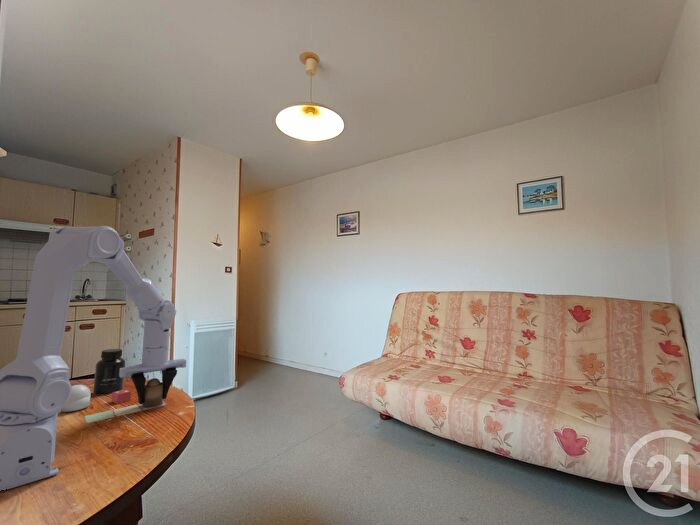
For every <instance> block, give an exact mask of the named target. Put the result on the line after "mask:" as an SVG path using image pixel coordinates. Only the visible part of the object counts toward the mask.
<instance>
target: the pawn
mask: <svg viewBox="0 0 700 525" xmlns="http://www.w3.org/2000/svg"><path fill="white" fill-rule="evenodd" d="M162 401H163V402H164V399H163V383H162V382H161V381H160V379H159V378H157V377H153V378H151V379H149V380H148V381H147V382H146V383H145V388H144V404H142V407H144V408H151V409H153V408H152V407H155V408H157V407H156V406H159V405H161V404H162ZM159 407H160V406H159Z"/></svg>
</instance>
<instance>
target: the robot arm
mask: <svg viewBox="0 0 700 525" xmlns="http://www.w3.org/2000/svg"><path fill="white" fill-rule="evenodd" d="M124 248H125V241H124V239H122V238H121V237H120V234H119V233H118V232H117V230H115V229H114V228H113V227H112V226H108V225H100V226H70V225H69V226H63V227H60V228H58V229H55V230H52V231H50V232H49V235H48V241H47V242H46V243H45V244H44V246H42V248H41V249H40V250H39V251H38V253H37V254H36V256H35V258H34V263H33V268H32V274H31V278H30V279H31V280H30V284H29V289H28V293H27V294H28V296H27V300H26V304H25V310H24V316H23V321H22V326H21V332H20V336H19V343H18V348H17V353H16V358H15V359H14V360H13V361H11V362H10V363H8V364H6V365H5V366H3V367H1V369H0V491H1V490H4V491H6V489H7V490H10V489H13V488H16V487H20V486H23V485H26V484H30V483H33V482H37V481H39V480H42V479H46V478H49V477H53V476H56V475H57V474H59V472H60V471H59V466H58V467H54V468H52V463H53V462H54V461H55V453H56V452H55V451H56V439H57V438H56V437H57V428H58V417H59V416H58V415H59V414H60V413H61V412H62V411H61V409H62V408H63V407H64V406H65V404H66V403H67V402H68V400H69V398H70V395H71V391H72V387H71V386H72V384H71V381H70V378H69V377H70V376H69V375H70V371H71V370H70V367H69V366H68V365H67V363H66V362H65V361H64V359H63V358H62V356H61V355H62V349H63V348H62V347H63V344H64V343H63V342H64V338H65V337H64V336H65V331H66V327H67V319H68V313H69V307H70V300H71V295H72V289H73V284H74V279H75V272H76V271H77V270H78V269H81V268H82V267H84V266H85V265H86V266H87V265H88V264H91V262H95V263H100V264H103V265H104V266H106V267H107V268H108V269H109V270H110V271H111V272H112V273H113V274H114V275H115V276H116V277H117V278H118V280H120V281H121V282H122V283H123V284H124V285H125V286H126V289H125V295H126V296H127V297H128V298H129V299H130V301H131V302H132V303H133V304H134V305H135V306H136V308H137V310H138V317H139V319H140V320H142V321H143V322H144V324H143V325H144V326H143V327H144V328H143V338H142V339H143V341H142V352H141V353H142V354H141V356H142V357H141V363H139V364H134V365H130V366H125V367H124V368H120V372H119V376H120V377H121V378H123V377H124V378H126V377H130V379H131V380H132V383H133V384H134V387H135V390H136V394H137V399H138V400H137V401H138V404H144V388H145V385H146V380H147V378H146V377H145V374H148V373H153V372H161V383H163V400H166V399H167V397H168V393H169V390H170V387H171V385H172V383H173V381H174V379H175V378H176V376H177V374H178V370H177V369H179V368H183V369H184V368H186V367H187V359H186V358H181V359H169V346H170V334H171V333H170V331H171V328H172V326H173V321H174V319H175V318H176V314H177V309H176V307H175V304H174V303H173V302H171V300H166V299H165V298H164V296H163V294H161V292H159V290H158V289H157V287H156V286H155V283H154V281H153V280H151V279H149V278H144V277H143V278H142V276H141V274H140V273H139V271H138V270H137V269H136V267H135V265H134V264H133V263H132V261H131V259H130V258H129V256H128V255H127V253H126V252H125V250H124ZM1 492H2V491H1Z"/></svg>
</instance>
